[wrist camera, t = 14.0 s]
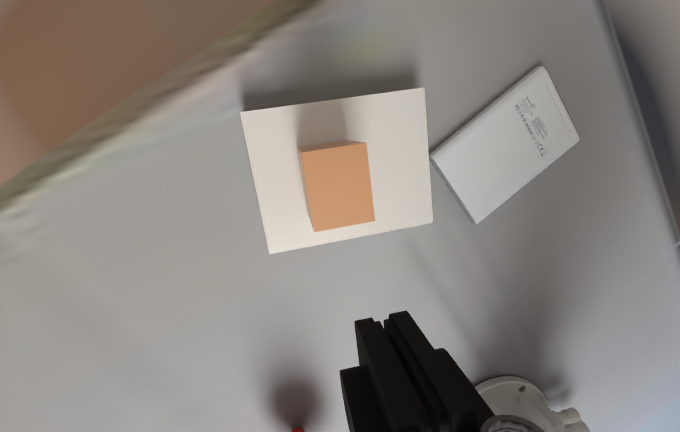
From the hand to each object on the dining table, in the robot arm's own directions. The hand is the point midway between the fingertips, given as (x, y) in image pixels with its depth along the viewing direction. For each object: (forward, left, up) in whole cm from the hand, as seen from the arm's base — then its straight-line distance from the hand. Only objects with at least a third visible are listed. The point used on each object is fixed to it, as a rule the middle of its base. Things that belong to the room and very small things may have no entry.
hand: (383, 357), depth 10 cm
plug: (-1, -3, -20) cm, 20 cm away
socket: (-3, -3, -20) cm, 20 cm away
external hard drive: (-18, -3, -21) cm, 27 cm away
